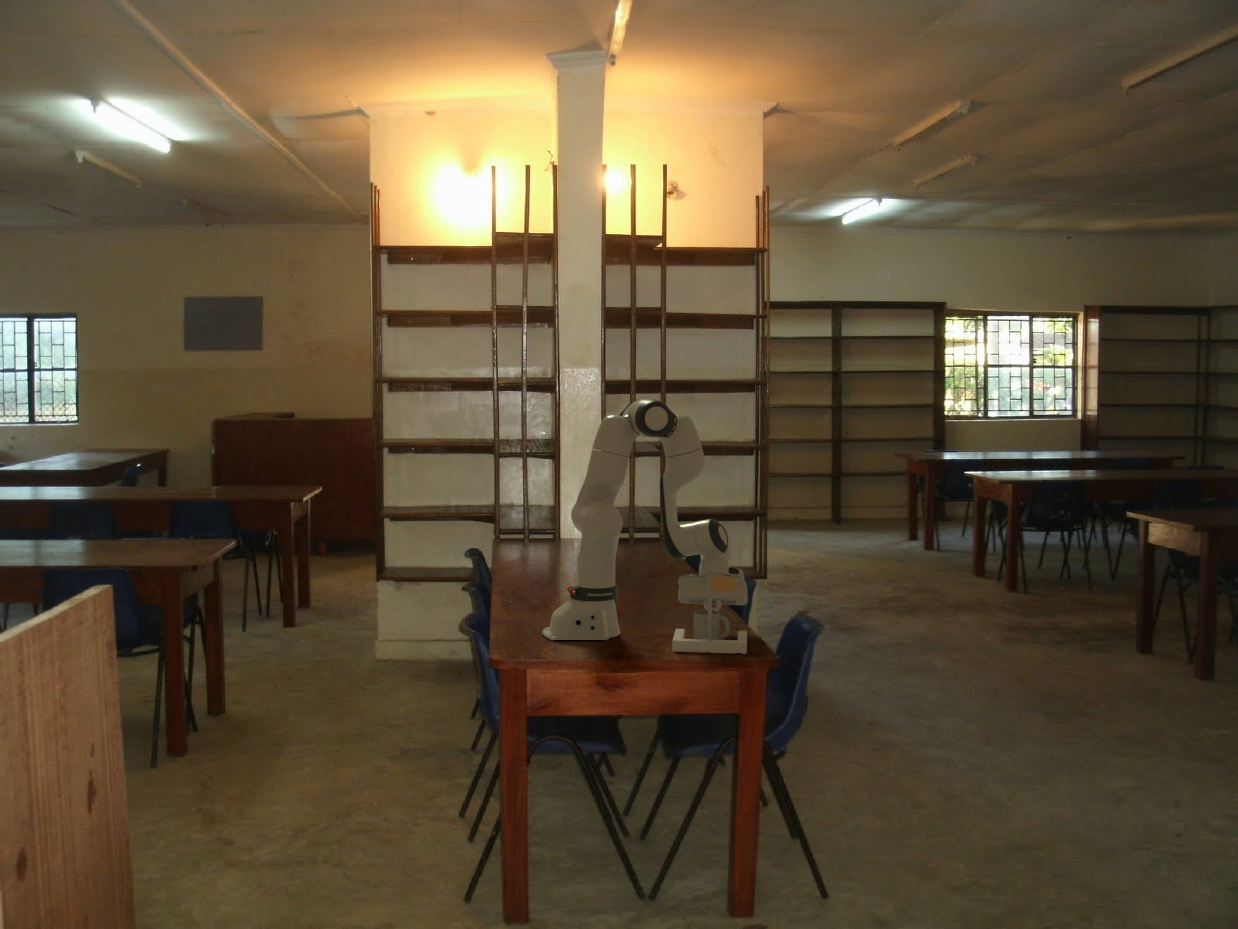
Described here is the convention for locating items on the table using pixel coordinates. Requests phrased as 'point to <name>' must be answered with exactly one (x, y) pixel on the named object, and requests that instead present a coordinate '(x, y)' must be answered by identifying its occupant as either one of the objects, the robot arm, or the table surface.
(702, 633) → the cup
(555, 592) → the table surface
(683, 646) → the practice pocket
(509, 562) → the table surface
